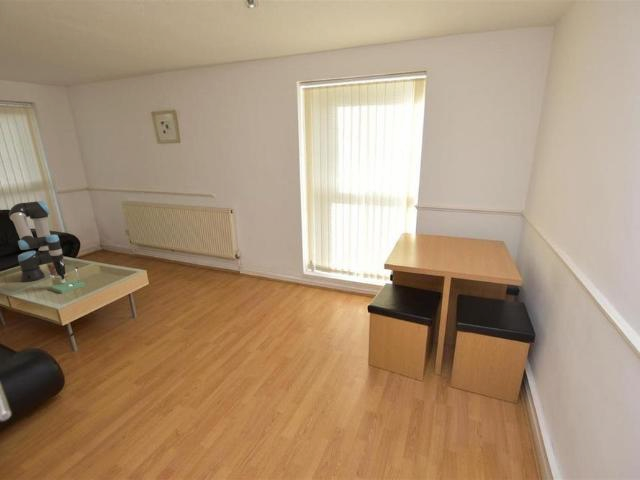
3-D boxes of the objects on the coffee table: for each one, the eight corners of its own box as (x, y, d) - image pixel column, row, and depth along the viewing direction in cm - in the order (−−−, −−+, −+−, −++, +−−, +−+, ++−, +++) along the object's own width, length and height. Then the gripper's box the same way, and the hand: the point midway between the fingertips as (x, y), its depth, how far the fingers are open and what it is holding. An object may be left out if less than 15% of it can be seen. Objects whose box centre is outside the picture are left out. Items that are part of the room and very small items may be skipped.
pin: (78, 282, 250) (74, 266, 246) (79, 282, 250) (75, 265, 246) (80, 283, 248) (76, 266, 244) (81, 282, 249) (77, 266, 245)
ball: (66, 287, 244) (67, 284, 242) (71, 285, 247) (72, 282, 245) (68, 290, 243) (69, 287, 241) (73, 288, 246) (74, 285, 244)
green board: (50, 289, 244) (49, 286, 243) (73, 282, 257) (72, 279, 257) (62, 293, 236) (61, 290, 235) (85, 285, 249) (84, 282, 249)
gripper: (46, 254, 242) (53, 282, 248) (55, 257, 236) (62, 285, 242) (57, 252, 248) (64, 279, 254) (66, 254, 242) (73, 282, 249)
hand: (63, 282), depth 248 cm, fingers closed
